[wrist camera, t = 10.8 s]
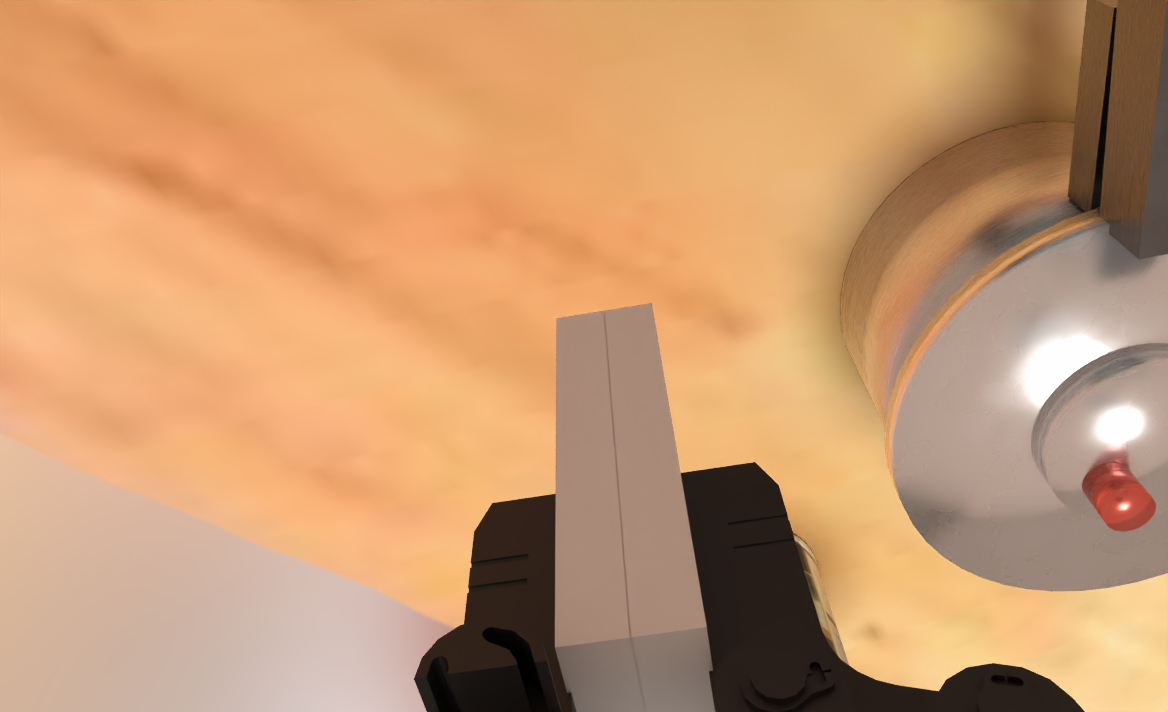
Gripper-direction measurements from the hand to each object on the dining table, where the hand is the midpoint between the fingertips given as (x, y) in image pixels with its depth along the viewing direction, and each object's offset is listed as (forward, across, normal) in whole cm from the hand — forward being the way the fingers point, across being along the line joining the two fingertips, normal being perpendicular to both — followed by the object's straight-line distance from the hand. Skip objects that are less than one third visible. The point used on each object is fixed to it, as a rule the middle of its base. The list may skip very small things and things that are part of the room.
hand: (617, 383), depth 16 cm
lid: (+21, +20, -15) cm, 33 cm away
